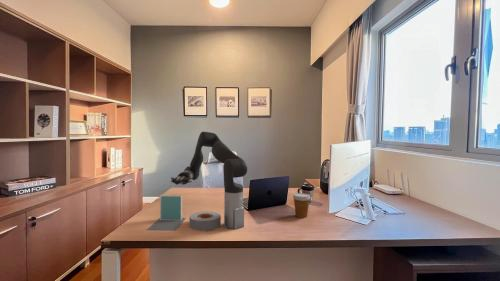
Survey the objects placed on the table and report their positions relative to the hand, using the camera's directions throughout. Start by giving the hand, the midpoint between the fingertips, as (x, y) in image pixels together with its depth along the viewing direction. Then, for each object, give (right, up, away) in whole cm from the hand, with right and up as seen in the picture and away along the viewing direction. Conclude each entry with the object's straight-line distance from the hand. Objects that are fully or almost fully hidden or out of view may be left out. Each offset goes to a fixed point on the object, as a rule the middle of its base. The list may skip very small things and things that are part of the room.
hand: (176, 182), depth 145 cm
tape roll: (+19, -19, -16) cm, 31 cm away
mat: (0, -18, -15) cm, 24 cm away
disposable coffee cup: (+70, -19, 0) cm, 72 cm away
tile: (0, -18, -10) cm, 20 cm away
